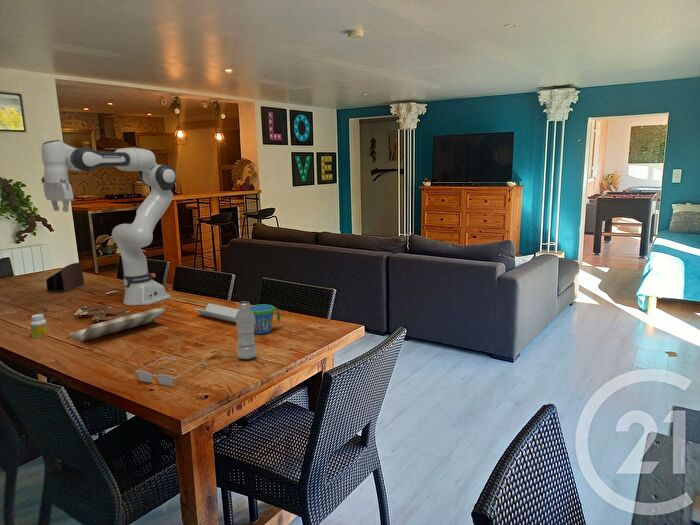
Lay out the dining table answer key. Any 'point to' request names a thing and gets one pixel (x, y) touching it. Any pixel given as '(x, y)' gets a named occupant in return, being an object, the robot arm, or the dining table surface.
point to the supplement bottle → (39, 326)
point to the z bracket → (219, 312)
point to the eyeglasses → (161, 378)
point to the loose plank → (121, 323)
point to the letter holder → (66, 279)
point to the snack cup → (263, 317)
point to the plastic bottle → (245, 331)
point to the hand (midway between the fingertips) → (61, 211)
